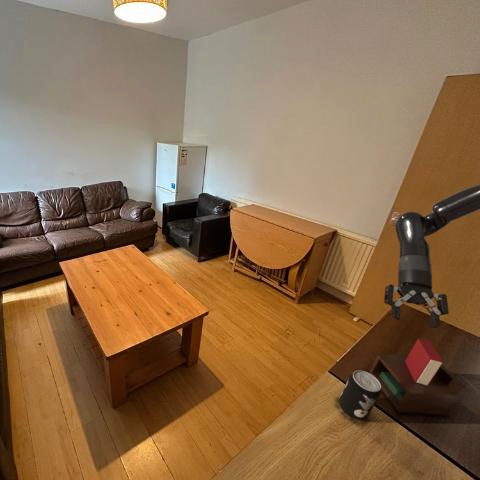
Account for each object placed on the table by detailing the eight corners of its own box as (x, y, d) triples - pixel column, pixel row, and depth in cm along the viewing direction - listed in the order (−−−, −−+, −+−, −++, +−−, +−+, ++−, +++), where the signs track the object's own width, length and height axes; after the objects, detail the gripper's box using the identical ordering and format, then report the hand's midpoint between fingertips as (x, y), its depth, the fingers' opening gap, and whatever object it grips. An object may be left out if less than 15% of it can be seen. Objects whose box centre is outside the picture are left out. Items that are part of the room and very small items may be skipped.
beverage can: (342, 417, 68) (356, 388, 62) (334, 394, 73) (347, 366, 68) (371, 425, 66) (388, 396, 61) (361, 401, 71) (376, 372, 66)
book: (416, 364, 73) (430, 341, 69) (427, 386, 67) (443, 362, 63) (404, 361, 74) (417, 338, 70) (415, 382, 68) (430, 359, 64)
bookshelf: (409, 374, 79) (425, 348, 74) (446, 414, 68) (467, 388, 63) (368, 372, 79) (381, 346, 75) (398, 411, 69) (415, 385, 64)
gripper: (392, 264, 80) (391, 316, 75) (453, 273, 74) (456, 330, 70) (381, 270, 86) (379, 318, 82) (436, 279, 81) (437, 331, 77)
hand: (414, 323), depth 76 cm, fingers open, 8 cm apart
